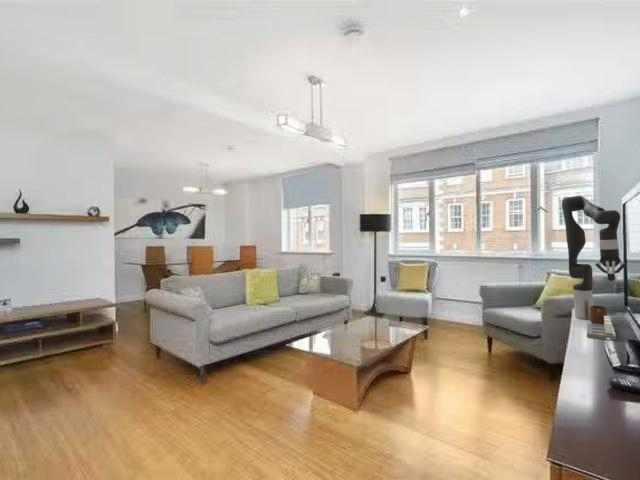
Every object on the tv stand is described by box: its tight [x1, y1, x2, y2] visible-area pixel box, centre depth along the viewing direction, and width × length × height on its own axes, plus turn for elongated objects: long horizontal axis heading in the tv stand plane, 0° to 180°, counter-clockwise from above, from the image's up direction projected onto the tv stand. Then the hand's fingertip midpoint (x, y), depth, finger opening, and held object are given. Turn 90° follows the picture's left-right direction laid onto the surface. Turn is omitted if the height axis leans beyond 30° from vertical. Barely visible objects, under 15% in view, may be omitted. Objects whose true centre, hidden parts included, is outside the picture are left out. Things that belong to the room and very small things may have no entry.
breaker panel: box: [586, 322, 617, 341], centre depth 173 cm, size 24×11×2 cm, turn 141°
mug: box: [589, 305, 608, 325], centre depth 190 cm, size 12×8×9 cm, turn 144°
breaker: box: [605, 321, 613, 334], centre depth 165 cm, size 3×2×5 cm
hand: (611, 280), depth 176 cm, fingers closed
